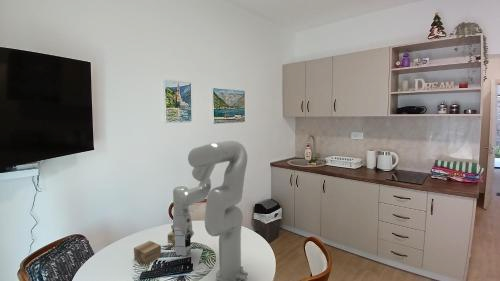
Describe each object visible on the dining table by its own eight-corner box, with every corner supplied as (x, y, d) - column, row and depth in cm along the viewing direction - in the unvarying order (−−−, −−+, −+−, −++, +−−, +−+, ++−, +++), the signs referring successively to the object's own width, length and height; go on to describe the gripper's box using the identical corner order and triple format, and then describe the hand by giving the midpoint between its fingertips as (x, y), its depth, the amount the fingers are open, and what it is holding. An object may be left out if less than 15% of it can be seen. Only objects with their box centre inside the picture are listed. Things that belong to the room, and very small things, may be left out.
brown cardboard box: (161, 256, 132) (160, 245, 132) (145, 265, 125) (144, 253, 124) (150, 251, 137) (149, 240, 137) (134, 259, 130) (133, 247, 129)
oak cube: (180, 239, 150) (180, 231, 150) (175, 244, 146) (175, 235, 145) (172, 239, 152) (172, 230, 151) (167, 243, 147) (167, 234, 146)
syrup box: (185, 256, 132) (184, 228, 131) (175, 255, 134) (174, 227, 132) (190, 250, 138) (189, 224, 137) (180, 249, 139) (179, 223, 138)
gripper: (198, 212, 132) (199, 245, 134) (175, 205, 142) (177, 237, 143) (187, 216, 126) (188, 252, 127) (164, 209, 135) (165, 242, 137)
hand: (182, 243), depth 135 cm, fingers closed on syrup box, 7 cm apart
